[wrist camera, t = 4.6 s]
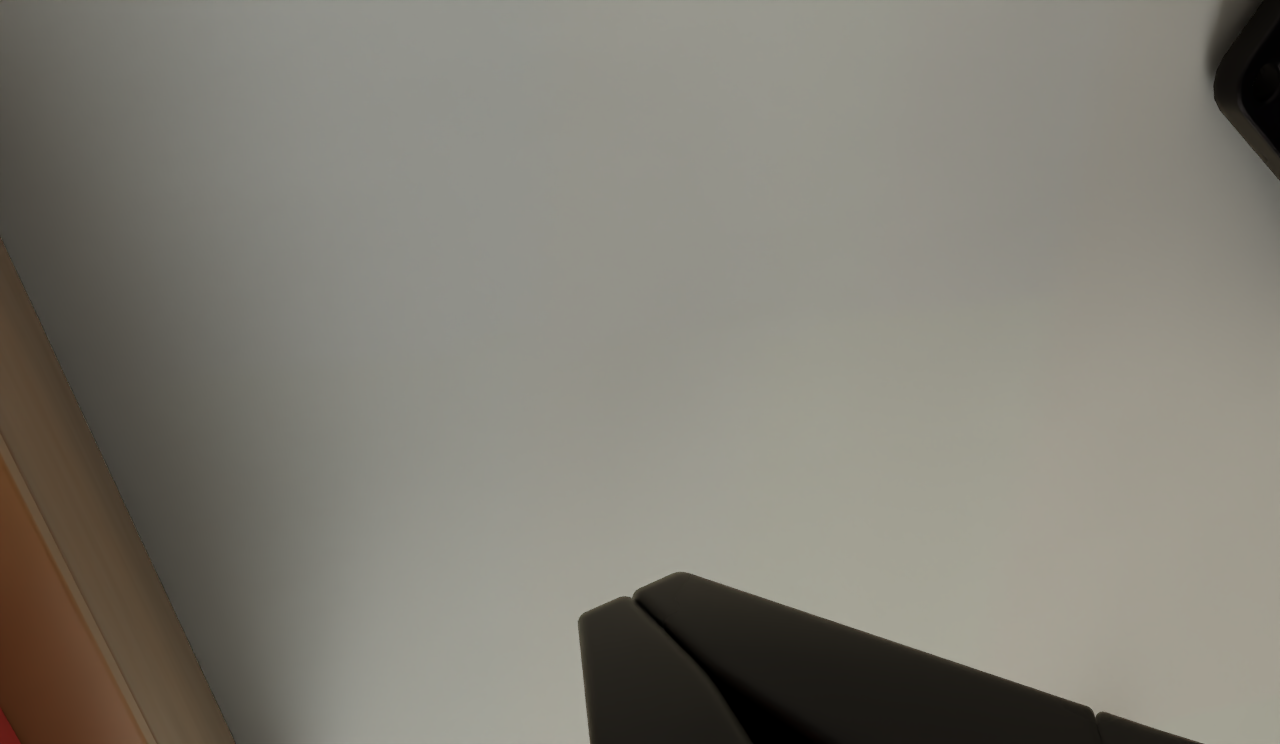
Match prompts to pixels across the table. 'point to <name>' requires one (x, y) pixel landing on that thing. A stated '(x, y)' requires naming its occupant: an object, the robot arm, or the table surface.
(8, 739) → the red block
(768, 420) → the table surface
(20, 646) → the stand
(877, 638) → the robot arm
